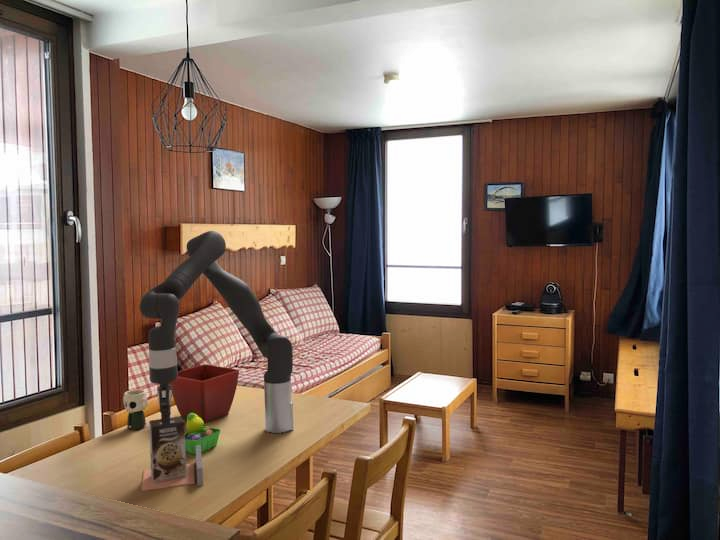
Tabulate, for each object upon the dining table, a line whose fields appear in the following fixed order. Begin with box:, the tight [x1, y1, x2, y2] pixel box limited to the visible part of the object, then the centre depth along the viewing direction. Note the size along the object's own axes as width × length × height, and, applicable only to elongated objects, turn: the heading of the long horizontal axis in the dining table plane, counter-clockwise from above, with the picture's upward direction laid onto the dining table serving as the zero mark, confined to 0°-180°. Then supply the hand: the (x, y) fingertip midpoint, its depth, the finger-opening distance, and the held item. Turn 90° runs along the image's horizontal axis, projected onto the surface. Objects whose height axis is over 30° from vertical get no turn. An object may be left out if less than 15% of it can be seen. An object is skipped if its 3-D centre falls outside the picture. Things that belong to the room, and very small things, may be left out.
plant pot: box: [170, 364, 240, 424], centre depth 223 cm, size 19×19×17 cm
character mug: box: [122, 389, 149, 430], centre depth 212 cm, size 11×7×13 cm, turn 66°
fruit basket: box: [185, 413, 221, 455], centre depth 191 cm, size 11×9×11 cm
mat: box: [140, 462, 196, 492], centre depth 170 cm, size 14×14×1 cm
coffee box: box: [148, 415, 187, 483], centre depth 169 cm, size 9×6×16 cm
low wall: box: [195, 445, 204, 487], centre depth 172 cm, size 2×18×5 cm, turn 16°
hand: (166, 420), depth 168 cm, fingers open, 8 cm apart
